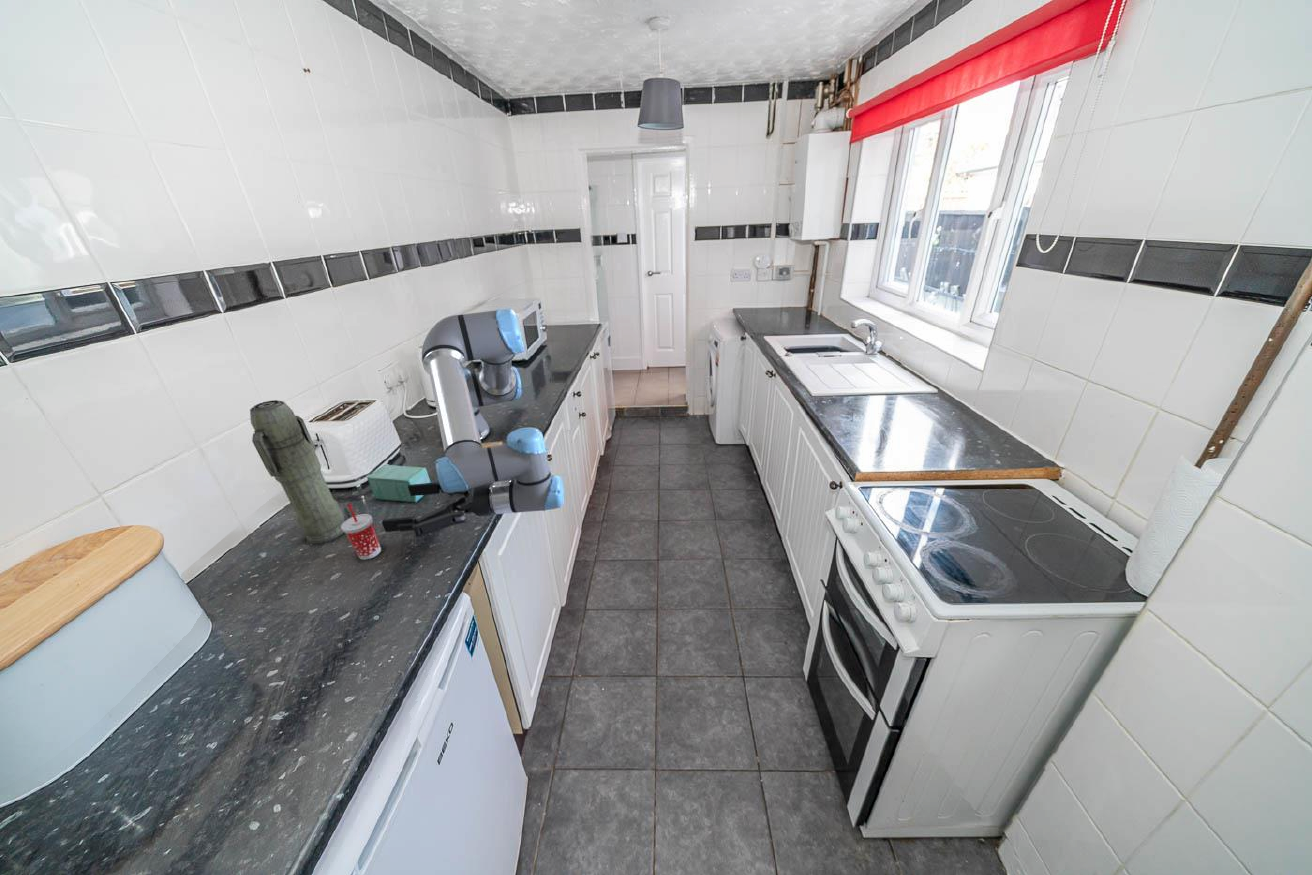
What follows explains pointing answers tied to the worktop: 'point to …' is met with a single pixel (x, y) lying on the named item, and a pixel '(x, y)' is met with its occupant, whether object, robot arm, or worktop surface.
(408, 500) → the box
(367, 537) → the beverage cup
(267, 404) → the thermos
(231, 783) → the worktop surface
